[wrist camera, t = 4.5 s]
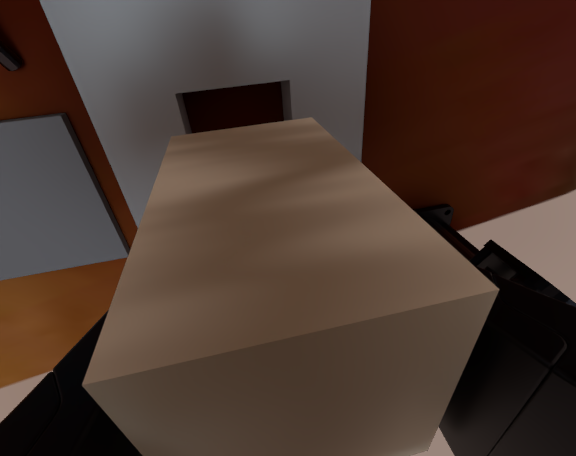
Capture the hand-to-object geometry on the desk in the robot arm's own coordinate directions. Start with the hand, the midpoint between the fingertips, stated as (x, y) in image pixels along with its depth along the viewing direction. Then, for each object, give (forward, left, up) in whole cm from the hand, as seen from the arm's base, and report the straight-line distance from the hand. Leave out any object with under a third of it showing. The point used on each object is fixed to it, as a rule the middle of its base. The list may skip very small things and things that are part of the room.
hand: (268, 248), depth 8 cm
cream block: (0, 0, -4) cm, 4 cm away
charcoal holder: (0, 0, -12) cm, 12 cm away
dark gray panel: (+13, +3, -12) cm, 18 cm away
